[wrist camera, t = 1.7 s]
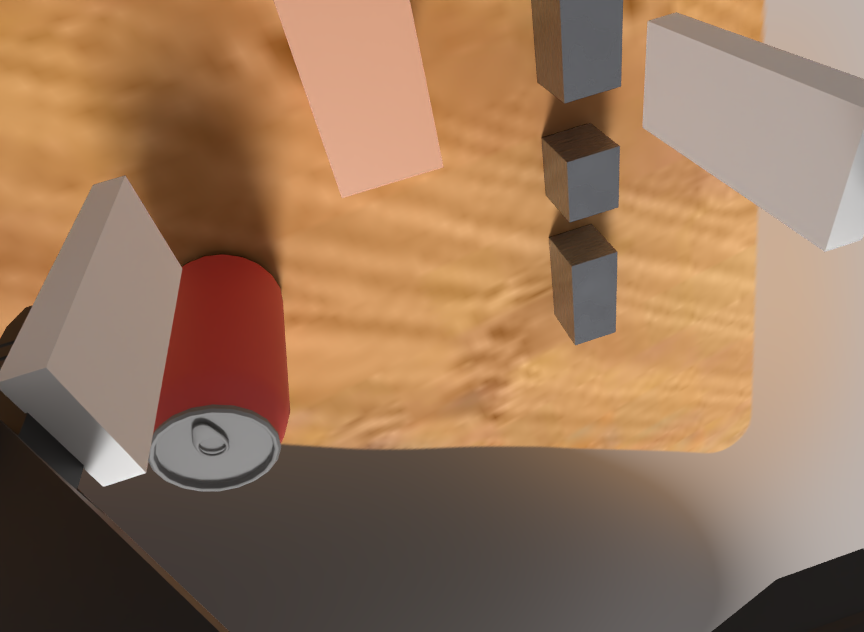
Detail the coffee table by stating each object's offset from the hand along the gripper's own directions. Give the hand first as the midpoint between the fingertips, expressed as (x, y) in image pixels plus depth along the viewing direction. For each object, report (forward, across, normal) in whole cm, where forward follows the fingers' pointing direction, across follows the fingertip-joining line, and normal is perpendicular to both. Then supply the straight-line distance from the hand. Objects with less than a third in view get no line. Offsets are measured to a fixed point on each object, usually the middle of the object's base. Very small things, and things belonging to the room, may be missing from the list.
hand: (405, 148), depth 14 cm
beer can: (+16, -11, -13) cm, 23 cm away
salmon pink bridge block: (+16, 0, 0) cm, 16 cm away
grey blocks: (+16, +11, -11) cm, 22 cm away
